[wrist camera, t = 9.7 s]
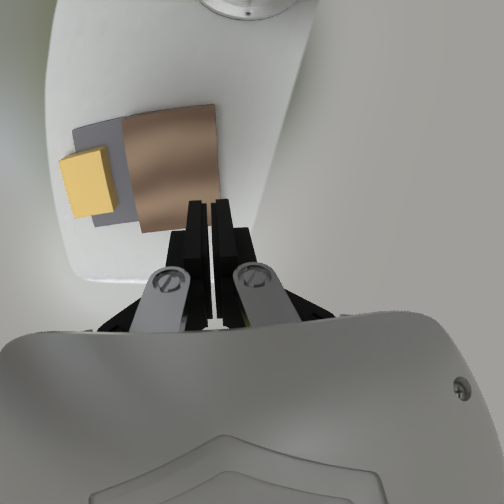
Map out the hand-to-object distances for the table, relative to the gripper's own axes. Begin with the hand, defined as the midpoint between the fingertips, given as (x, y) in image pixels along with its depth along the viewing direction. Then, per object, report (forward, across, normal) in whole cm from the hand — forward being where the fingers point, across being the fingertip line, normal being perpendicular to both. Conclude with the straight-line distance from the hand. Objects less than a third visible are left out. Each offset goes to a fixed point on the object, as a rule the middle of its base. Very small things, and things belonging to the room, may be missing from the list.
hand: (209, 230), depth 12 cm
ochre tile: (+19, +15, +5) cm, 25 cm away
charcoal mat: (+22, +13, +5) cm, 26 cm away
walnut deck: (+22, +4, +4) cm, 23 cm away
